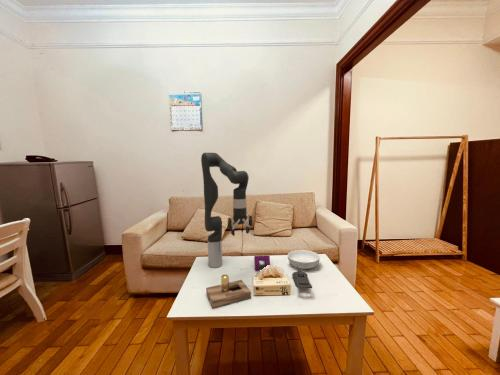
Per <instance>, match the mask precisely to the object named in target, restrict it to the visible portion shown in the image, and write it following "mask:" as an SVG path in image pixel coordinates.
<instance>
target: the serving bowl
mask: <svg viewBox="0 0 500 375" xmlns="http://www.w3.org/2000/svg"><path fill="white" fill-rule="evenodd" d="M287 259H288V261H289V264H291V265H292V266H293V267H295V268H297V269H298V268H301V269H302V270H303V269H307V270H308V269H313V268H315V267H316V266H317V265H318V264H319V262H320V259H321V257H320V255H319V253H317V252H316V251H311V250H307V249H297V250H296V249H295V250H291V251H290V252H289V251H288V253H287Z"/></svg>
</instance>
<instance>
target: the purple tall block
mask: <svg viewBox="0 0 500 375" xmlns="http://www.w3.org/2000/svg"><path fill="white" fill-rule="evenodd" d="M270 257H271V255H254V257H253V261H254V270H255V271H257V270H260V261H264V263H265V266H267V265H270V266H271V260H270V259H271V258H270Z"/></svg>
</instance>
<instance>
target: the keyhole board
mask: <svg viewBox="0 0 500 375" xmlns="http://www.w3.org/2000/svg"><path fill="white" fill-rule="evenodd" d="M205 291H206V292H205V293H206V294H205V295H206V297H207V299H208V301H209V303H210V306H211V308H212V309H213V310H214V309H218V308H220V307H223V306H228V305H231V304H235V303H239V302H243V301H246V300H249V299H252V291H251V290H250V288H249V287H248V286H247V284H245V282H244V281H243V280H242V279H239V280H234V281H229V288H228V289H227V292H223V289H222V286H221V284H217V285H213V286H209V287H206V288H205Z"/></svg>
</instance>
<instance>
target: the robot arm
mask: <svg viewBox="0 0 500 375" xmlns="http://www.w3.org/2000/svg"><path fill="white" fill-rule="evenodd" d="M200 162H201V170H202V179H203V197H204V200H203V201H204V229H205V231H206V232H212V233H210V234H209V235H208V236H207V256H208V257H207V258H208V266H209V267H210V268H213V269H215V268H220V267H222V266H223V242H222V241H223V240H222V238H223V222H222V217H221V216H219V215H217V216H212V211H213V208H214V207H215V205H216V203H217V201H218V199H219V186H218V184H217V183H216V181H215V179H214V178H213V176H212V174H211V169H210V168H216V167H217V168H219V172H220V173H221V174H222V175H223V176H225V177H226V178H227V179H228V180H229V181H230V183H231V184H233V185H238V186H237V187H235V188H234V189H233V191H232V192H233V193H232V197H233V198H232V200H233V201H232V212H233V214H232V217H227V228H228V230H229V229H230V234H231V235H232V236H233V237H235V232H236V231H235V229H236V227H237V226H238V225H245V233H246V234H249V233H250V227H252V226H253V216H252V215H251V214H248V215H247V207H248V206H247V196H246V195H247V194H246V193H247V188H248V184H249V179H250V178H249V174H248V173H247V171H245V170H237V168H236V167H235V166H233V165H232V164H229V163H228V162H227V161H226V160H225V159H223V157H222V156H220V155H219V154H218V153H216V152H203V153H202V154H201V157H200ZM247 220H248V222H247Z"/></svg>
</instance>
